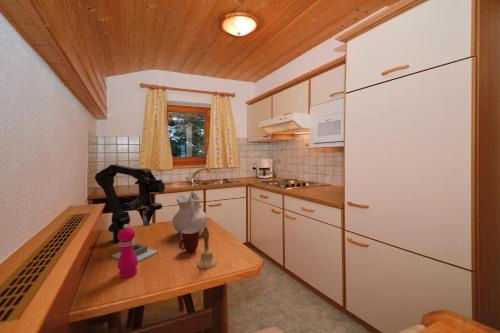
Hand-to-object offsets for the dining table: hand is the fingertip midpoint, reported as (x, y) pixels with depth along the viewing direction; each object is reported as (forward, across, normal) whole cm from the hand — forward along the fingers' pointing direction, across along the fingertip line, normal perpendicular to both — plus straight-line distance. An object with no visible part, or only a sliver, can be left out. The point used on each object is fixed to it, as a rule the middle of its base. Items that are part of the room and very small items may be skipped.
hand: (146, 221), depth 125 cm
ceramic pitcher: (+12, +14, +18) cm, 26 cm away
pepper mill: (+12, +21, -26) cm, 35 cm away
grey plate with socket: (+11, +8, -13) cm, 19 cm away
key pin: (+2, 0, 0) cm, 2 cm away
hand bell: (+12, +44, -6) cm, 46 cm away
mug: (+12, +29, 0) cm, 31 cm away
